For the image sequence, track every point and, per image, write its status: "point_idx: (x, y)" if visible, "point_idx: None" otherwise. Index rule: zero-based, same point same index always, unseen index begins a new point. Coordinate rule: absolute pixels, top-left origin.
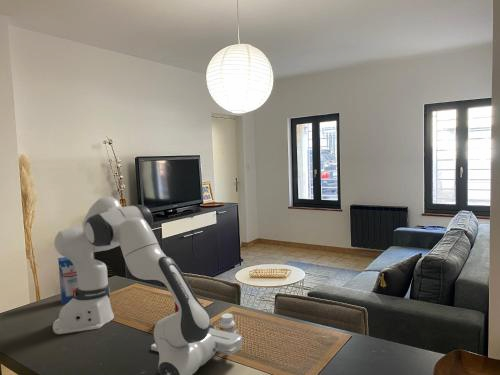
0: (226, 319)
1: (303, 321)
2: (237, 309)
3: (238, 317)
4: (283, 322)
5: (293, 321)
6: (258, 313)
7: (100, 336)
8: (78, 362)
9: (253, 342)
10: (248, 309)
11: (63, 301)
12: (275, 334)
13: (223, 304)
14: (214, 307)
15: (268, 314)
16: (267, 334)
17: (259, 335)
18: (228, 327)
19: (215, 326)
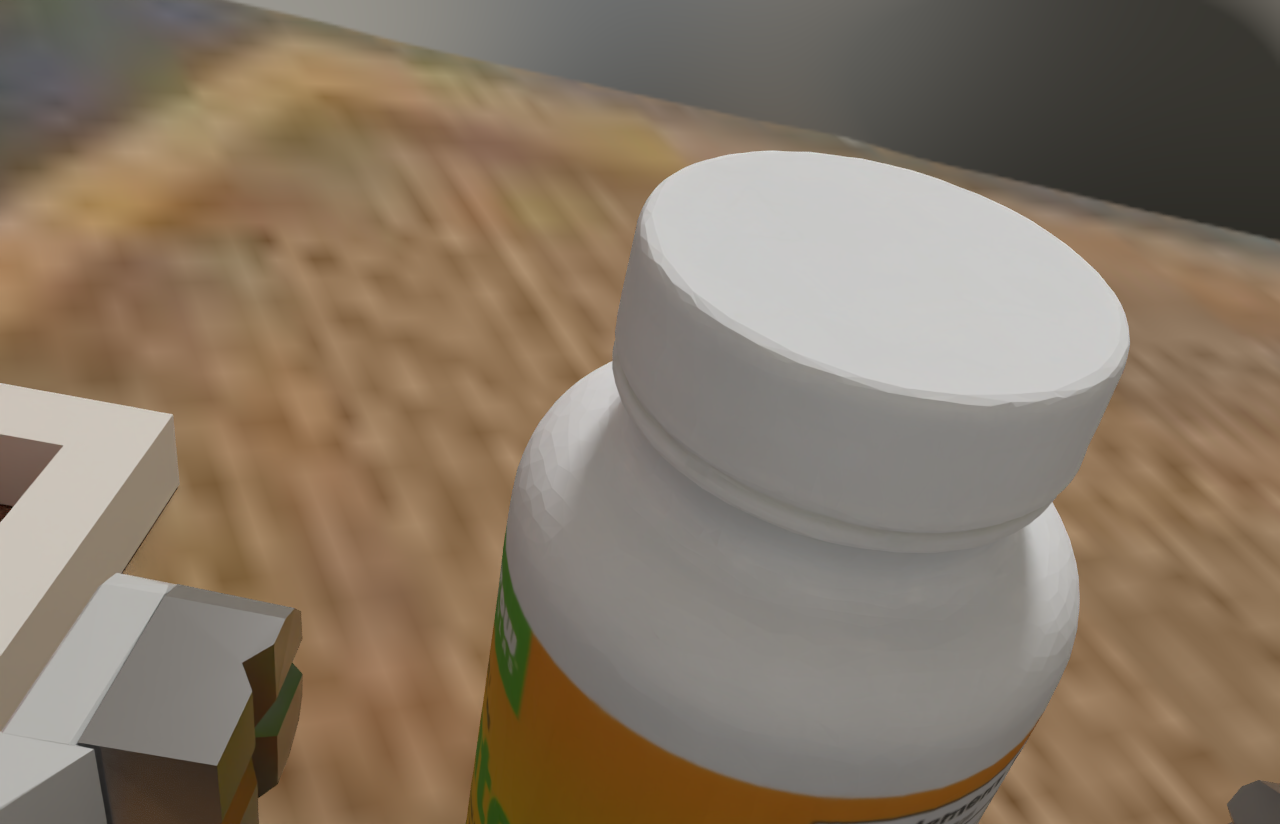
0: (1004, 456)
1: (1274, 244)
2: (382, 77)
3: (471, 192)
4: (1104, 263)
5: (1184, 246)
6: (693, 137)
7: None
8: None
9: (1183, 776)
10: (526, 82)
11: None
12: (1267, 489)
13: (148, 6)
14: (20, 36)
15: (820, 152)
16: (1168, 503)
17: (1083, 543)
18: (999, 738)
19: (166, 425)
